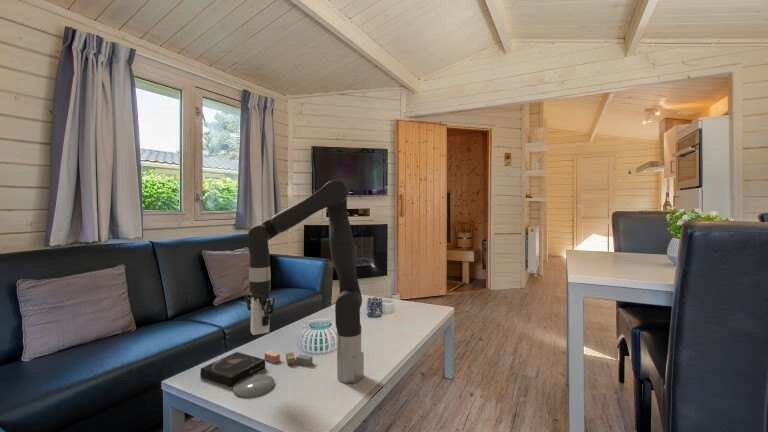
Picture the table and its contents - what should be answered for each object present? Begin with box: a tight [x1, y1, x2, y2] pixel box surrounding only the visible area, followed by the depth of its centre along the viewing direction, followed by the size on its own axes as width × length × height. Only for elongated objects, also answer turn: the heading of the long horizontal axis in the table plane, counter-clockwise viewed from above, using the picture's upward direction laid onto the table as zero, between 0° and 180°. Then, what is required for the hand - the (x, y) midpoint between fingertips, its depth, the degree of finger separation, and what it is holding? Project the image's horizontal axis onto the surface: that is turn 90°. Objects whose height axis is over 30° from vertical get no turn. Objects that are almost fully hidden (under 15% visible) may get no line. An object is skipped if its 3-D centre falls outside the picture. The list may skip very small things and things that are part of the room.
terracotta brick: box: [264, 350, 281, 364], centre depth 148 cm, size 6×3×3 cm, turn 57°
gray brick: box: [295, 353, 314, 367], centre depth 145 cm, size 6×3×3 cm, turn 68°
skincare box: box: [250, 300, 271, 336], centre depth 129 cm, size 6×4×12 cm
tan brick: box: [285, 351, 296, 366], centre depth 147 cm, size 6×3×3 cm, turn 22°
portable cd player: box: [199, 351, 266, 388], centre depth 137 cm, size 16×17×4 cm
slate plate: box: [232, 374, 275, 398], centre depth 127 cm, size 14×14×1 cm
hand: (260, 323), depth 129 cm, fingers closed on skincare box, 5 cm apart
